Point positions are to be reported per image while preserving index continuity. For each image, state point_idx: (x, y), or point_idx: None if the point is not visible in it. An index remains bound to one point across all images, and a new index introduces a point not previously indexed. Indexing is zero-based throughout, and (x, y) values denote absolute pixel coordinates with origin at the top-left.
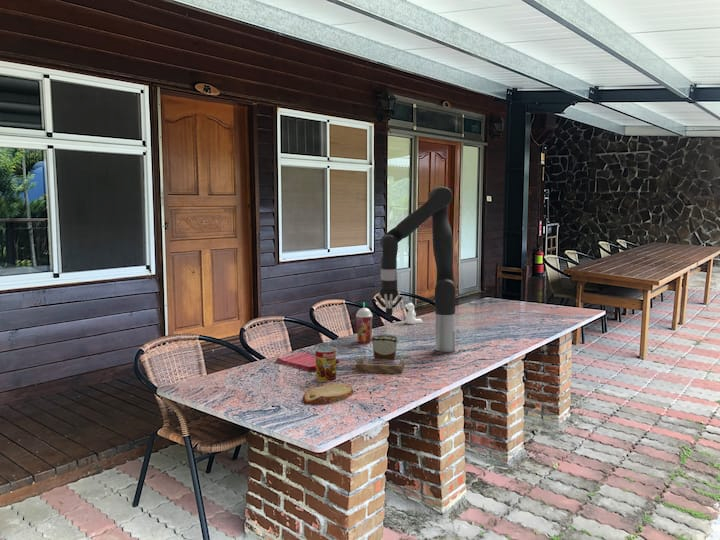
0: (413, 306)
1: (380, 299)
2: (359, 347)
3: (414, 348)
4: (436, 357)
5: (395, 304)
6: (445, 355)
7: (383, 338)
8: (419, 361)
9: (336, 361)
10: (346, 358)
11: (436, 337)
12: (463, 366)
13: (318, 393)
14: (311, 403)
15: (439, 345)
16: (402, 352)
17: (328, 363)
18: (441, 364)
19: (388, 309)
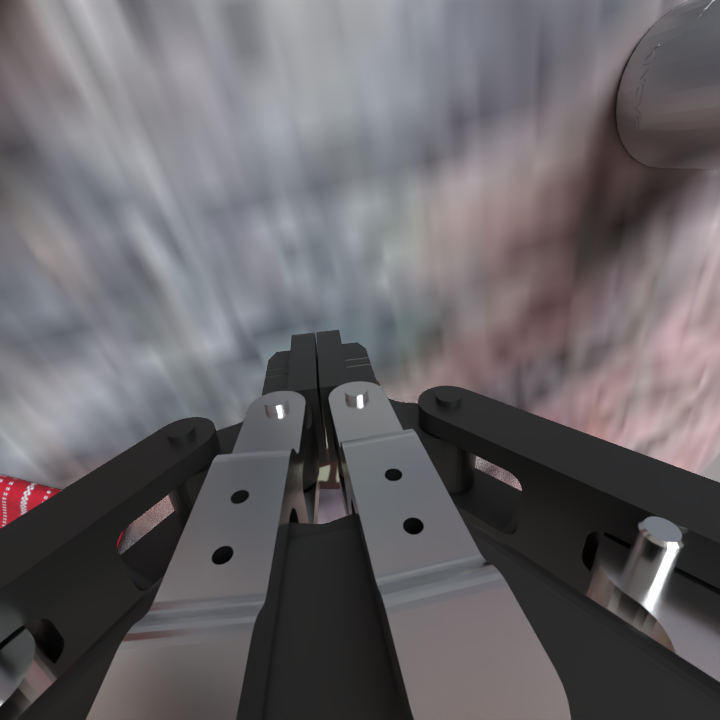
0: None
1: (60, 632)
2: (34, 150)
3: (467, 88)
4: (595, 298)
5: (477, 511)
6: (652, 243)
7: (326, 479)
8: (504, 389)
9: (124, 529)
10: (119, 432)
11: (700, 132)
12: (689, 412)
13: None
14: None
15: (668, 160)
16: (396, 231)
17: None
18: (602, 408)
19: (322, 454)
